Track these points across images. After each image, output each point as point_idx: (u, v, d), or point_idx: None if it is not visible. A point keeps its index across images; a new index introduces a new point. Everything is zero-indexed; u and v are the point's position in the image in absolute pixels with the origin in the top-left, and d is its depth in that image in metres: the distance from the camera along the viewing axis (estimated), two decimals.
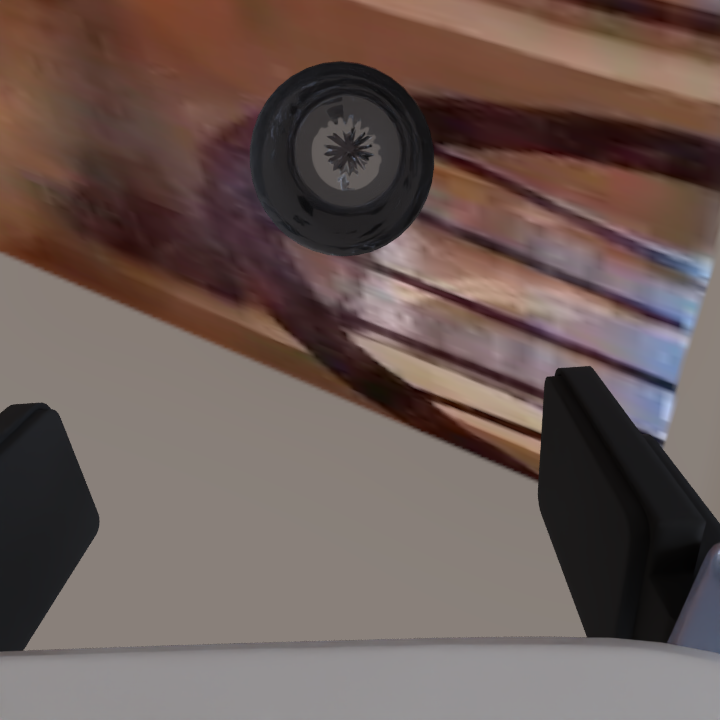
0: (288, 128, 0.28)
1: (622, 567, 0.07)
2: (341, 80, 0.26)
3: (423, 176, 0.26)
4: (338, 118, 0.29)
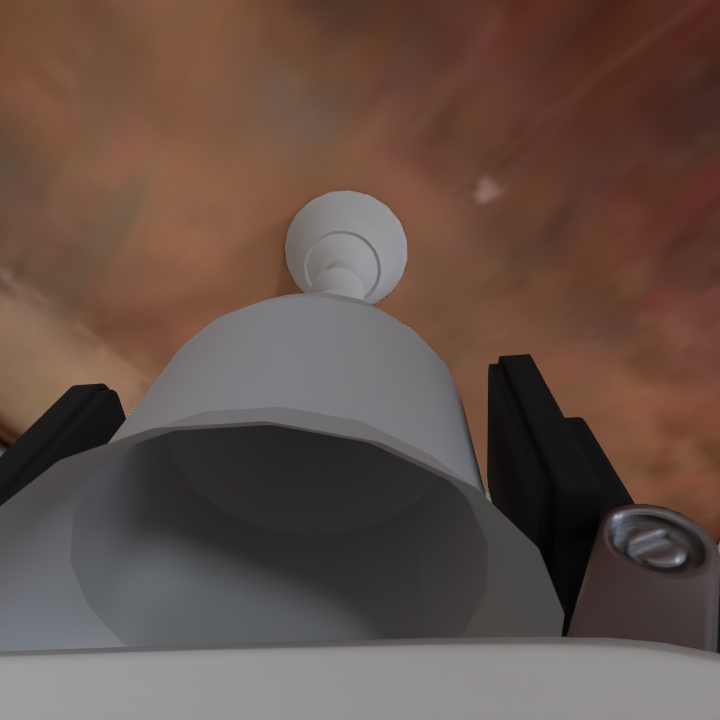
0: None
1: (536, 534, 0.07)
2: None
3: None
4: None
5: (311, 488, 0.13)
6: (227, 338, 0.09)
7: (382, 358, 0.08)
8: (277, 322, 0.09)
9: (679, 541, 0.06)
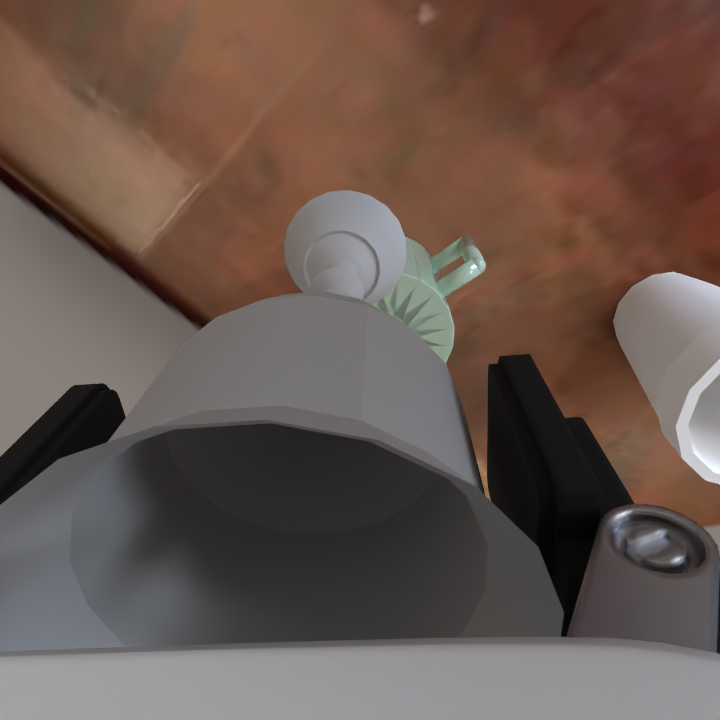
0: None
1: (536, 534, 0.07)
2: None
3: None
4: None
5: (310, 487, 0.13)
6: (226, 337, 0.09)
7: (381, 357, 0.08)
8: (276, 320, 0.09)
9: (679, 541, 0.06)
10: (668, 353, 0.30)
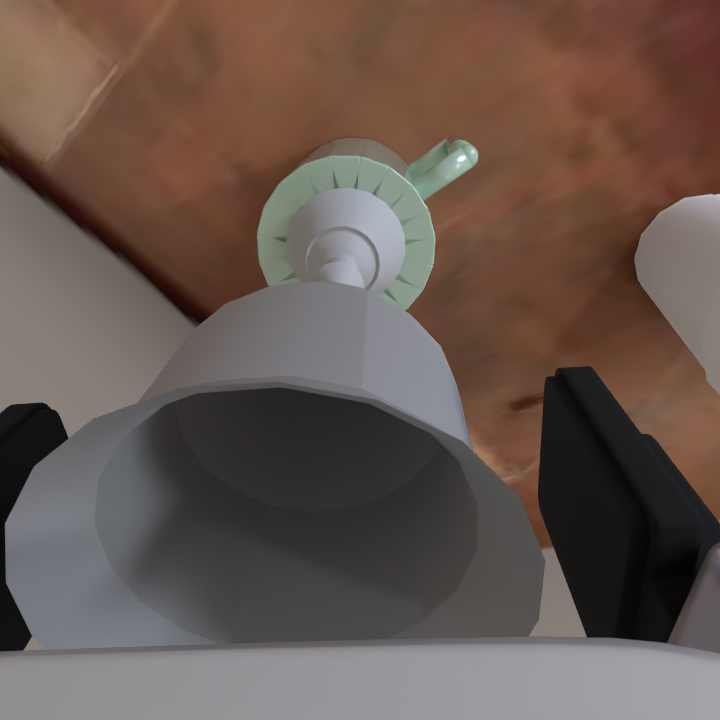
0: None
1: (622, 567, 0.07)
2: None
3: None
4: None
5: (314, 468, 0.14)
6: (237, 320, 0.09)
7: (380, 337, 0.09)
8: (283, 304, 0.10)
9: None
10: (718, 273, 0.23)
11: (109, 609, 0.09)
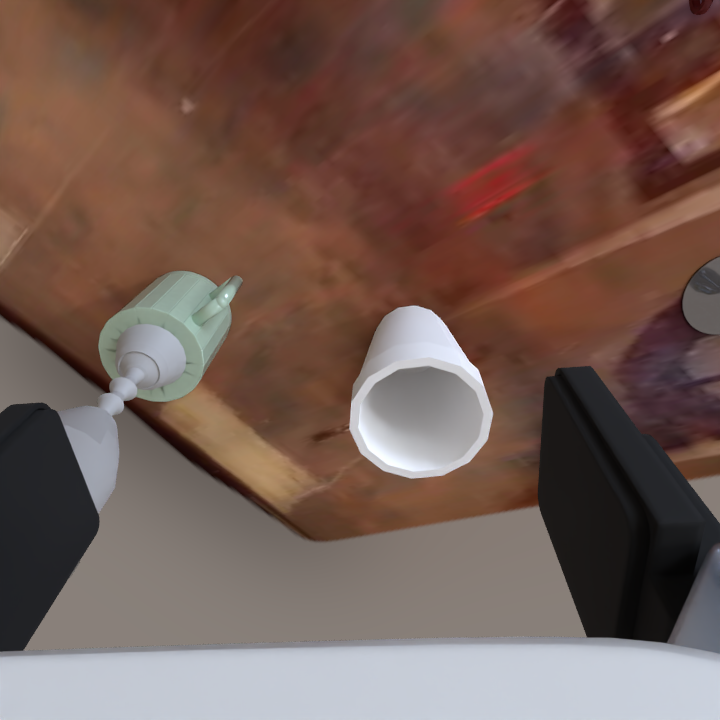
0: None
1: (622, 567, 0.07)
2: None
3: None
4: None
5: None
6: None
7: None
8: None
9: None
10: None
11: None
